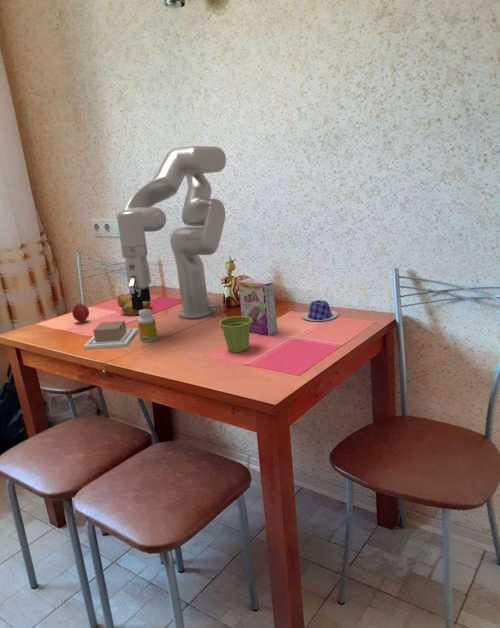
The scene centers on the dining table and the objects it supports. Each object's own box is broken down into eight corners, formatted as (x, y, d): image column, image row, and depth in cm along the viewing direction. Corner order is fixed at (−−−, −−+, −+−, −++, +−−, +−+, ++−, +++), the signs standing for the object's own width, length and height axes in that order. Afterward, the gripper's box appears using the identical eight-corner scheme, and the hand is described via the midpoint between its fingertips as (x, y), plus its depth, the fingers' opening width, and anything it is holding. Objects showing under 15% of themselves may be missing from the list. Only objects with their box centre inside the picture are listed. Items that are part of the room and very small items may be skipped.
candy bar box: (241, 330, 164) (236, 281, 159) (252, 326, 168) (247, 277, 163) (268, 336, 157) (263, 285, 152) (278, 331, 160) (274, 281, 155)
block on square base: (138, 331, 174) (135, 317, 172) (126, 346, 160) (124, 331, 159) (98, 334, 175) (95, 320, 173) (83, 349, 161) (80, 334, 160)
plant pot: (223, 344, 154) (220, 317, 151) (254, 341, 154) (252, 314, 151) (221, 356, 145) (217, 327, 143) (254, 353, 145) (251, 325, 142)
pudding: (345, 317, 169) (344, 301, 167) (316, 325, 163) (315, 310, 162) (323, 309, 179) (322, 295, 177) (294, 317, 173) (293, 302, 172)
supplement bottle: (149, 343, 161) (145, 314, 158) (137, 341, 164) (132, 312, 161) (161, 337, 165) (156, 308, 162) (148, 335, 168) (144, 307, 165)
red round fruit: (80, 325, 186) (76, 304, 183) (71, 323, 189) (67, 303, 187) (93, 320, 190) (89, 300, 188) (84, 319, 193) (80, 298, 191)
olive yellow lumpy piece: (144, 305, 204) (141, 286, 202) (159, 308, 198) (156, 289, 195) (117, 314, 195) (113, 294, 193) (132, 318, 189) (128, 297, 186)
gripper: (139, 255, 147) (147, 312, 152) (153, 246, 164) (159, 297, 169) (114, 257, 148) (122, 313, 152) (130, 247, 164) (137, 299, 169)
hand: (142, 305), depth 160 cm, fingers open, 9 cm apart
